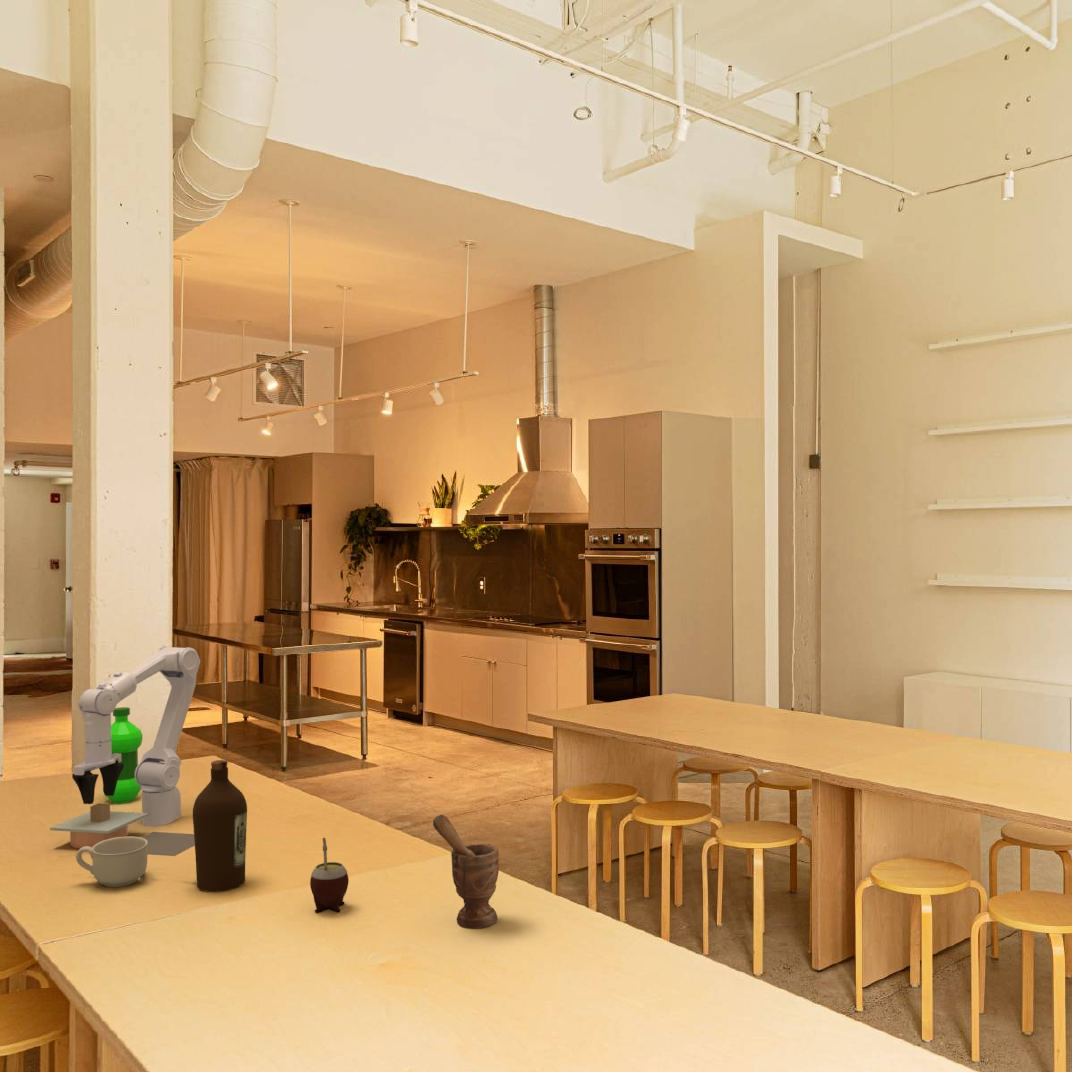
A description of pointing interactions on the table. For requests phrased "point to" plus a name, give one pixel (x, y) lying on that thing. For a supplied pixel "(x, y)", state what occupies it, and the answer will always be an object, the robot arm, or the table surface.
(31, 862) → the table surface
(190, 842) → the mat
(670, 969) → the table surface
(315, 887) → the mate gourd
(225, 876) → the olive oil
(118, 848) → the teacup
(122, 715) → the plastic bottle
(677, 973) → the table surface
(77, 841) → the bowl
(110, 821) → the lid
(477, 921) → the mortar and pestle
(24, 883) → the table surface
